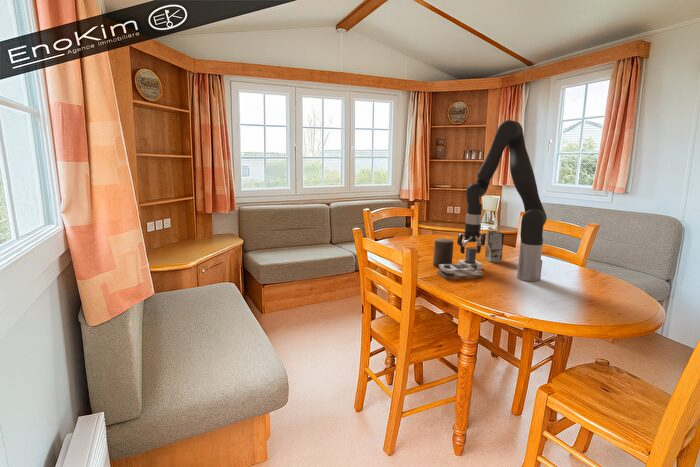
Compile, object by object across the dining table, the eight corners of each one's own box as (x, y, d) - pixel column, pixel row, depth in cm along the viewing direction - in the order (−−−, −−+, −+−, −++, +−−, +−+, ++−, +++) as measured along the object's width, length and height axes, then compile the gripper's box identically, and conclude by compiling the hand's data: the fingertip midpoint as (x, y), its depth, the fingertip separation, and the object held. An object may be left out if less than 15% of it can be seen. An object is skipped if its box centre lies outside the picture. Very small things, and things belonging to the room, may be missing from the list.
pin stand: (473, 263, 200) (474, 259, 199) (482, 268, 191) (482, 264, 191) (457, 264, 198) (458, 260, 198) (465, 269, 190) (466, 264, 189)
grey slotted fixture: (472, 271, 187) (473, 260, 185) (483, 277, 177) (484, 266, 176) (437, 273, 183) (437, 262, 182) (445, 279, 174) (446, 268, 173)
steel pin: (471, 265, 197) (472, 247, 195) (474, 267, 193) (476, 248, 191) (465, 265, 196) (466, 247, 194) (468, 267, 193) (469, 249, 191)
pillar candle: (447, 269, 190) (449, 240, 187) (429, 265, 196) (431, 237, 193) (454, 265, 197) (456, 237, 195) (437, 262, 203) (439, 235, 200)
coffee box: (501, 262, 203) (504, 233, 200) (490, 262, 203) (492, 233, 200) (495, 258, 212) (498, 230, 209) (484, 257, 212) (486, 230, 209)
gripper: (463, 224, 185) (460, 255, 189) (489, 223, 188) (486, 254, 191) (456, 221, 192) (454, 251, 196) (482, 221, 195) (479, 251, 198)
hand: (470, 253), depth 193 cm, fingers open, 8 cm apart
